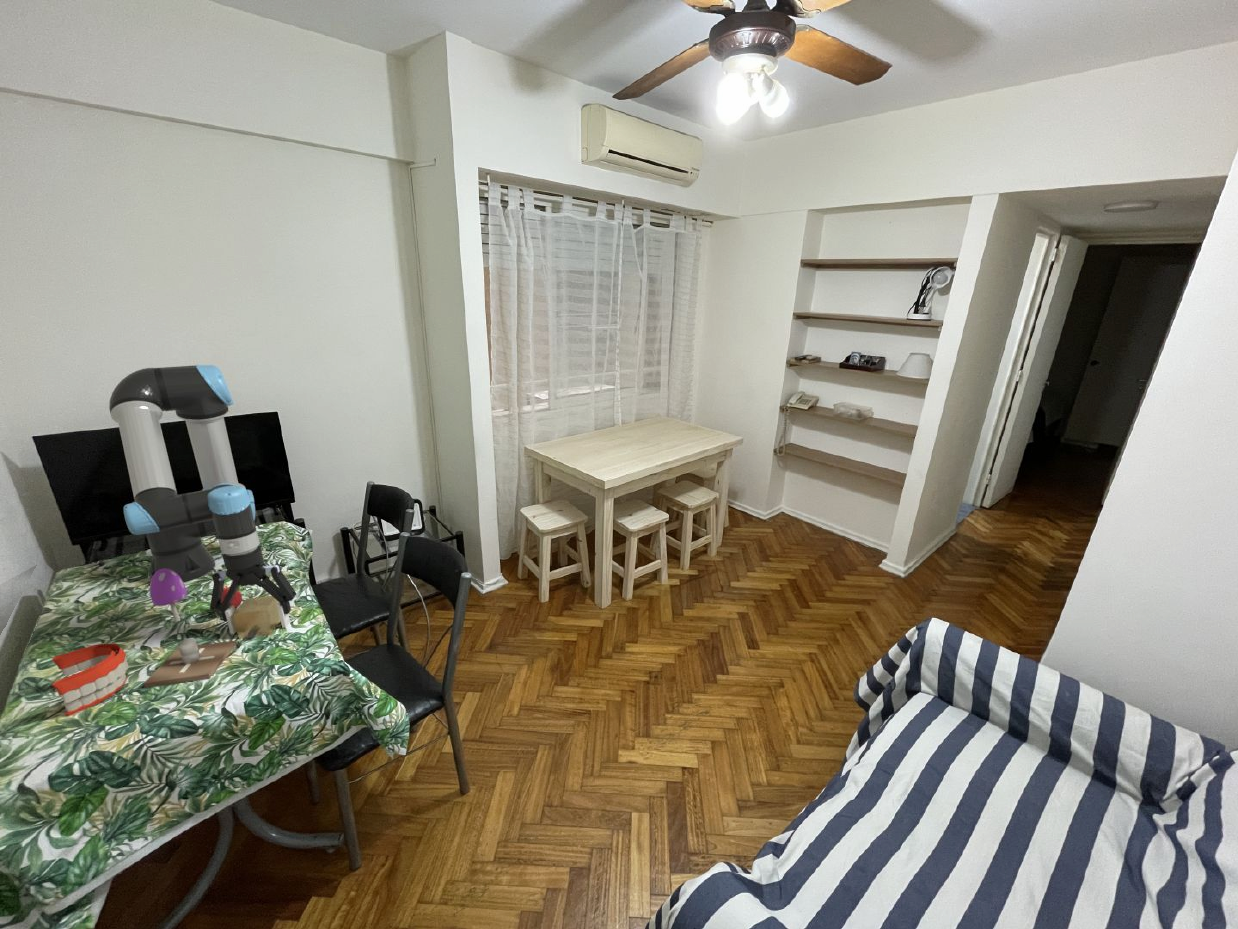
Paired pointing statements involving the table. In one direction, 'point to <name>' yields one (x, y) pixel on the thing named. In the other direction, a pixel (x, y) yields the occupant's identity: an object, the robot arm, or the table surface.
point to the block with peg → (257, 617)
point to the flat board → (190, 663)
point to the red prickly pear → (236, 599)
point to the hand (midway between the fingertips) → (261, 627)
